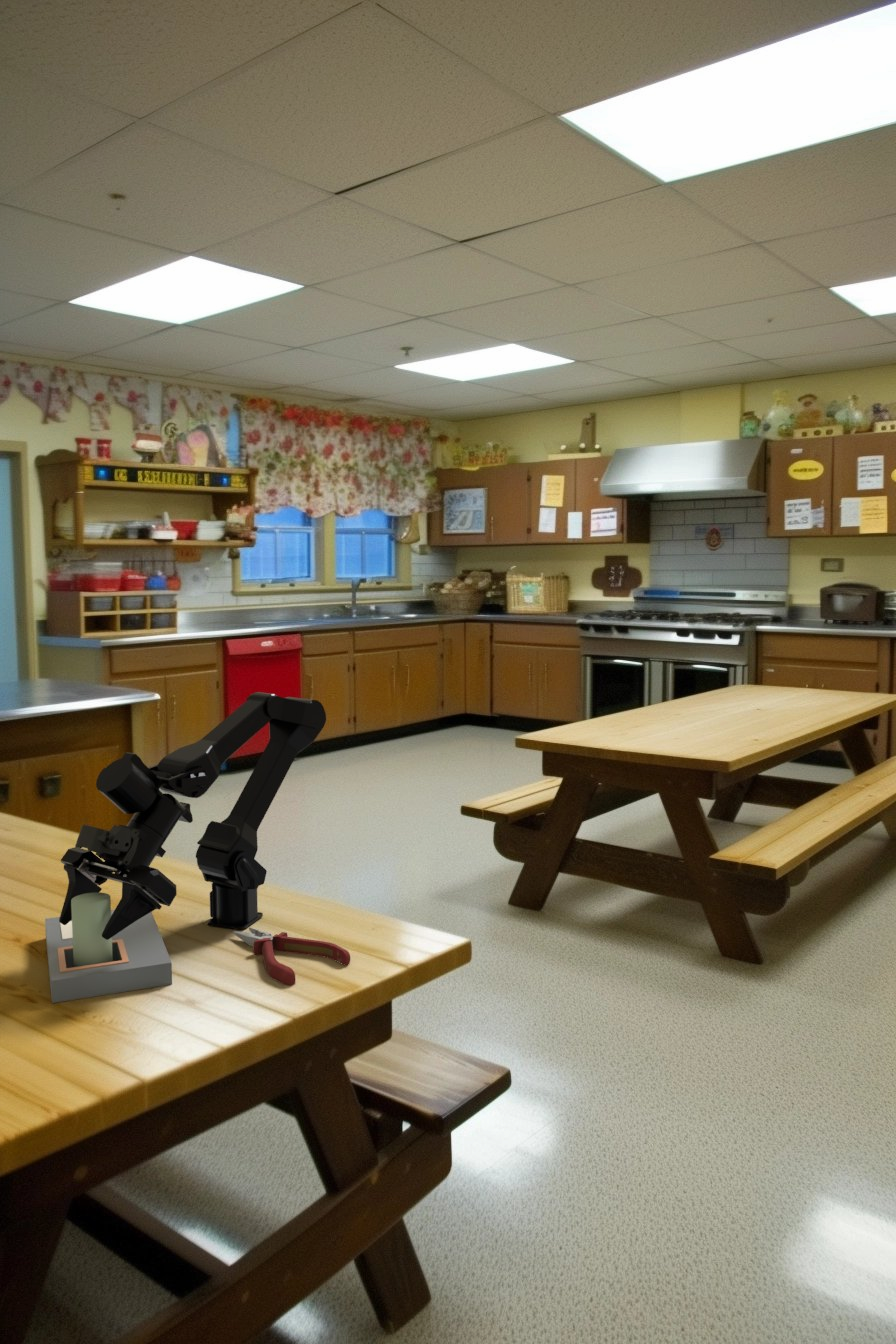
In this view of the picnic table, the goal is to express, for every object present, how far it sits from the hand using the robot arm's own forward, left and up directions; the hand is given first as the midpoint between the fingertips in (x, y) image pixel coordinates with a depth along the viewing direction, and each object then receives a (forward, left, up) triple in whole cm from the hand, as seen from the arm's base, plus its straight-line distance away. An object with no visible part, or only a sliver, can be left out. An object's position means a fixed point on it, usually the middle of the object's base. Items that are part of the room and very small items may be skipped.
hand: (82, 930), depth 136 cm
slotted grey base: (+2, -7, -7) cm, 10 cm away
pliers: (-22, -17, -8) cm, 29 cm away
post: (0, -1, -7) cm, 7 cm away
